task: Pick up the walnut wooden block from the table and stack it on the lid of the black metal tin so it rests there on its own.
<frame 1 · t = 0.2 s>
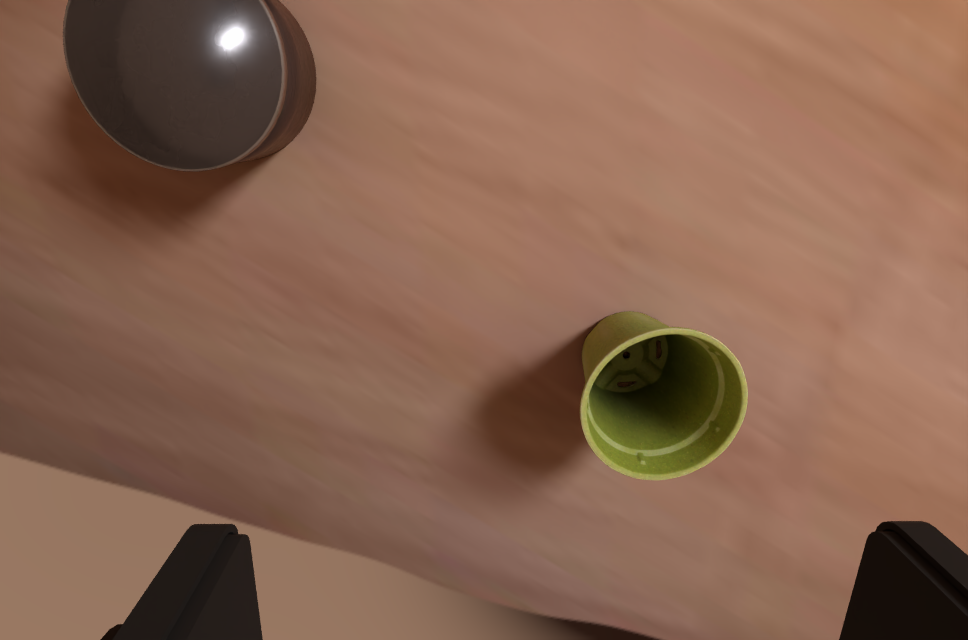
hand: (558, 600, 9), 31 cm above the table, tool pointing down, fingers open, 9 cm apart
plant pot: (623, 349, 41), on the table
black tin: (230, 72, 35), on the table
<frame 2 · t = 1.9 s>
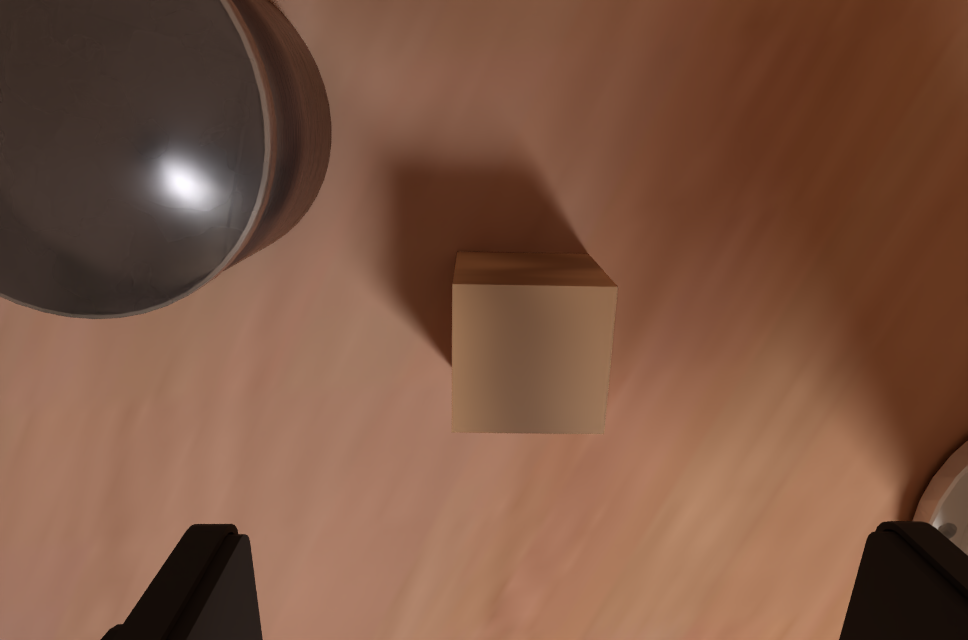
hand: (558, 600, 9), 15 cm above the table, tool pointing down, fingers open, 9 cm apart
walnut block: (520, 314, 23), on the table
black tin: (190, 121, 21), on the table
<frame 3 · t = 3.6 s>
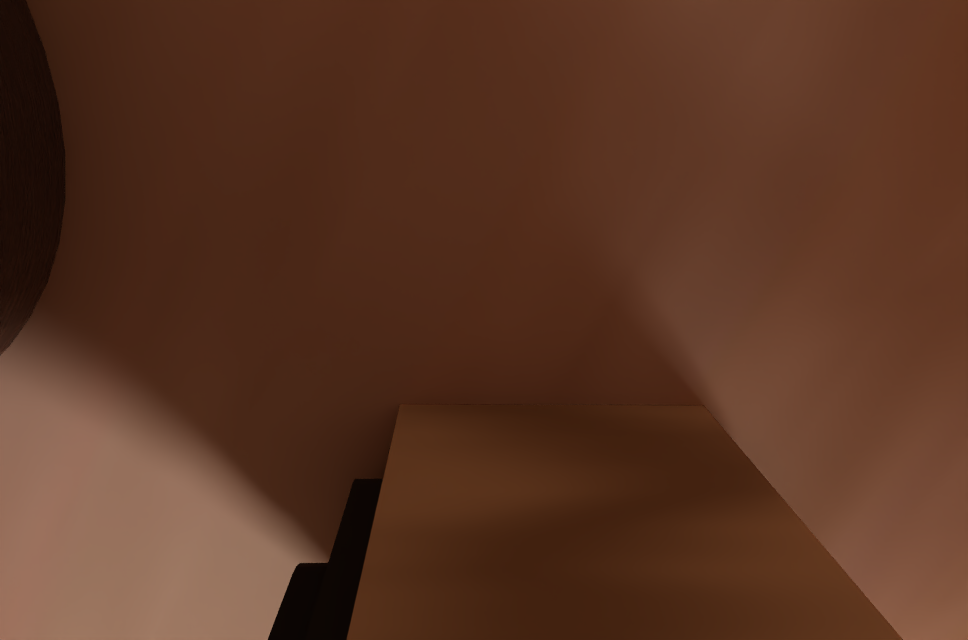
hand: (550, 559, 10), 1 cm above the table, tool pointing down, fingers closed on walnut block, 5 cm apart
walnut block: (544, 531, 10), on the table, touching gripper
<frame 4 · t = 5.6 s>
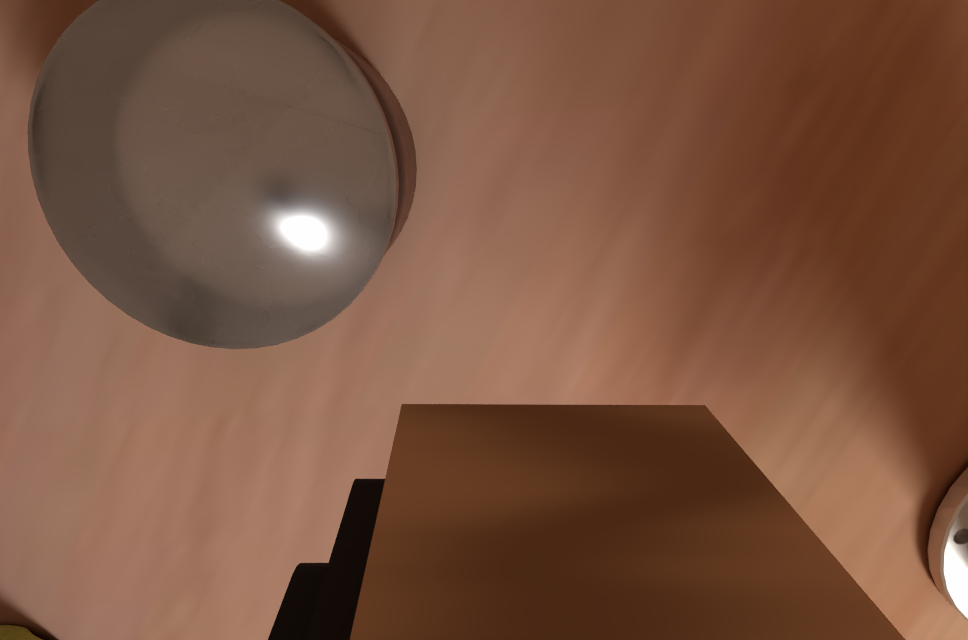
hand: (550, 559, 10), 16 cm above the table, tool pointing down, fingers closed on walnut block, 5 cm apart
walnut block: (546, 531, 10), point 15 cm above the table, touching gripper
black tin: (290, 165, 23), on the table
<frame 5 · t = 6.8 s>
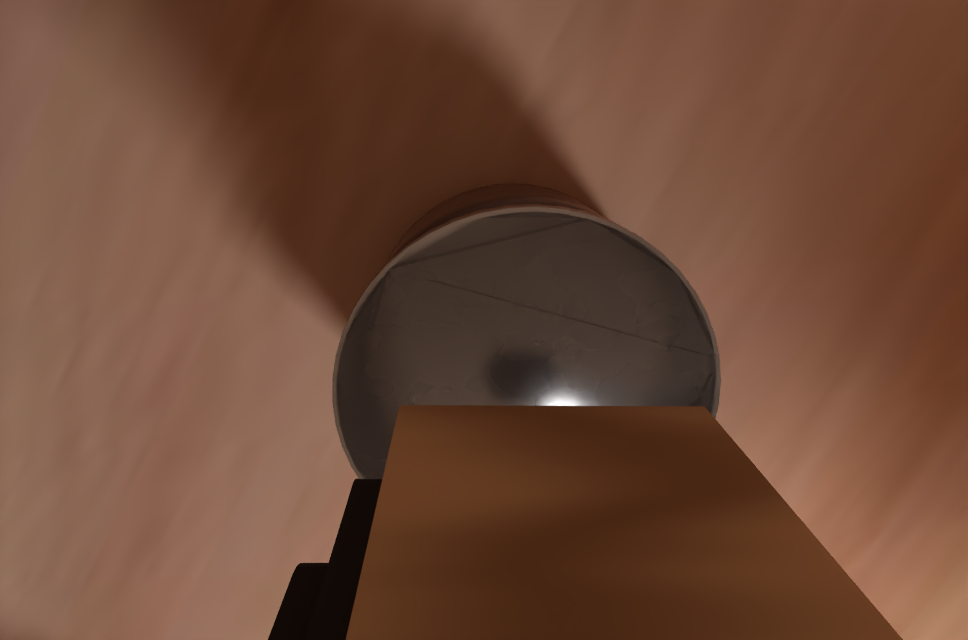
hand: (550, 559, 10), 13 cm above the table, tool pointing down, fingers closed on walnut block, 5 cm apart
walnut block: (545, 533, 10), point 12 cm above the table, touching gripper
black tin: (509, 319, 22), on the table
when the fingers open (9 cm above the table, at t = 7.8 s): walnut block drops 1 cm, resting on black tin.
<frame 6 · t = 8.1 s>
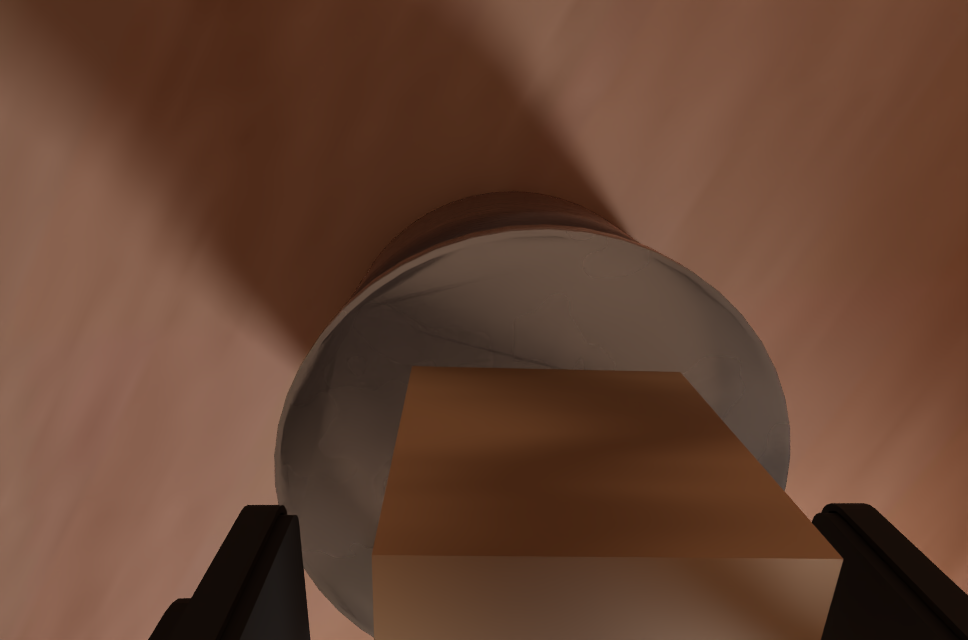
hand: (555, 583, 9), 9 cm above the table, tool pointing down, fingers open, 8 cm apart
walnut block: (538, 484, 12), point 7 cm above the table, touching black tin
black tin: (509, 354, 18), on the table, touching walnut block
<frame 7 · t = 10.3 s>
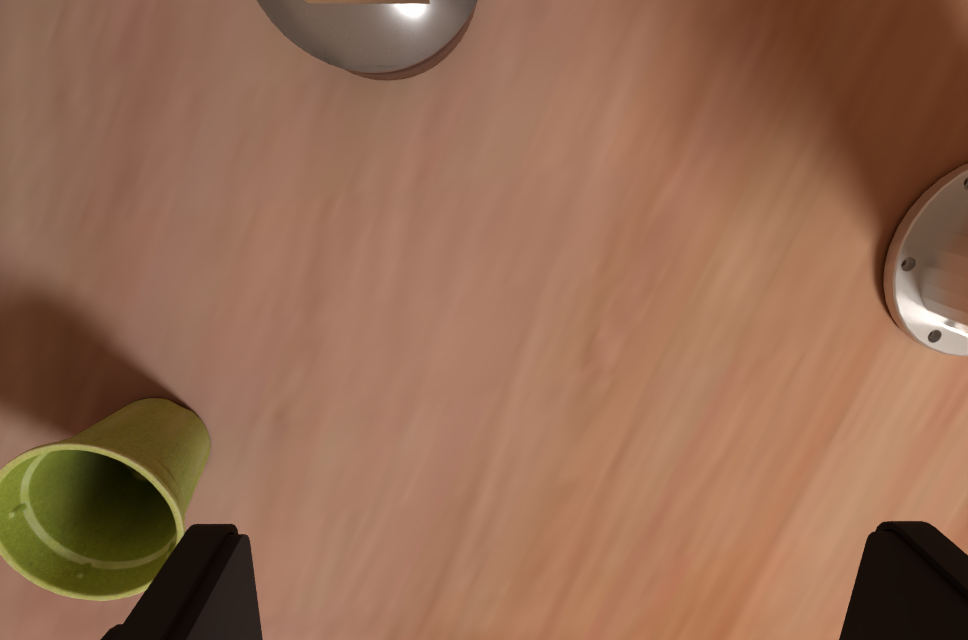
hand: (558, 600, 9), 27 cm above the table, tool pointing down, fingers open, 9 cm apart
plant pot: (165, 437, 38), on the table
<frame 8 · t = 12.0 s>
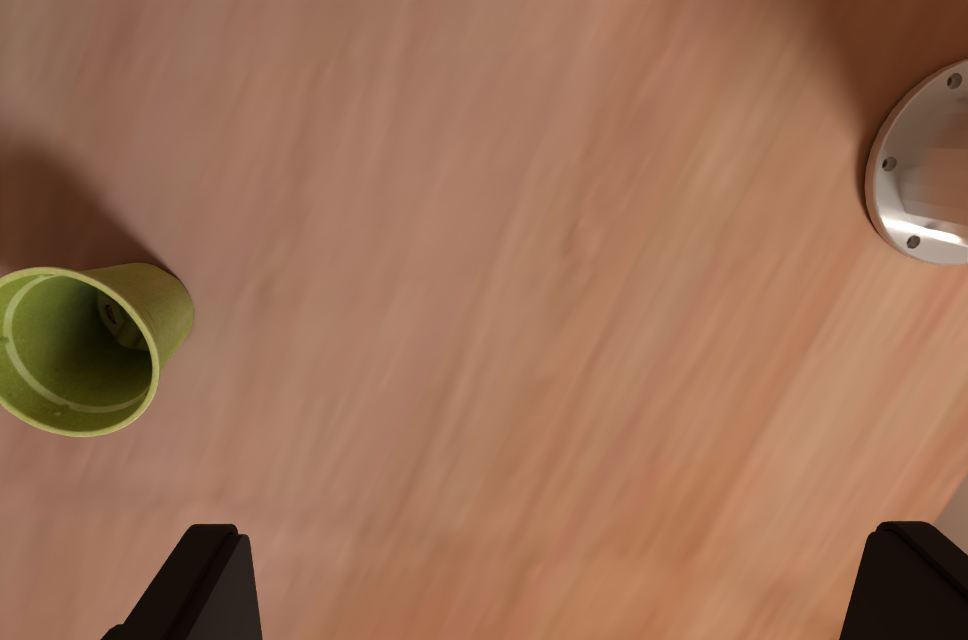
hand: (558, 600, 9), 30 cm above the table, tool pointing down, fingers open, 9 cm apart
plant pot: (150, 306, 39), on the table
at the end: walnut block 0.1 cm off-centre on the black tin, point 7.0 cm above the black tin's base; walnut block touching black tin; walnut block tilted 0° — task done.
